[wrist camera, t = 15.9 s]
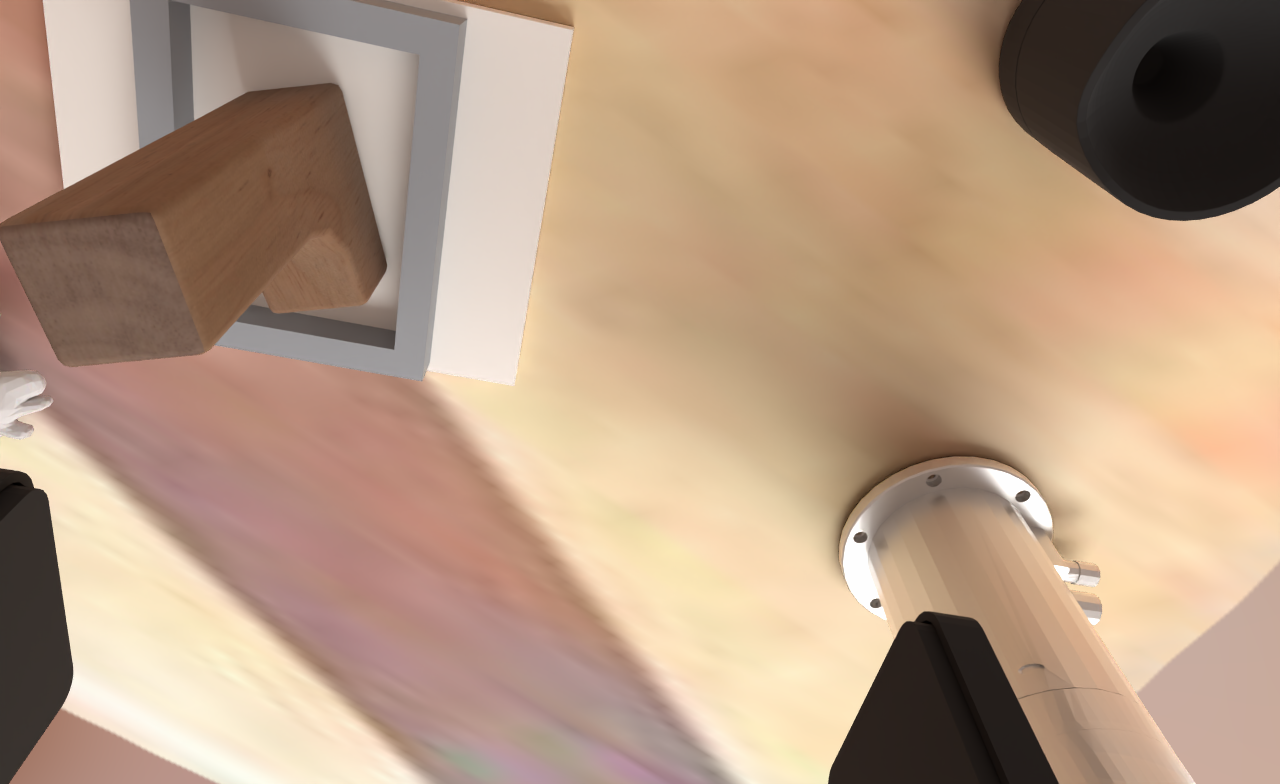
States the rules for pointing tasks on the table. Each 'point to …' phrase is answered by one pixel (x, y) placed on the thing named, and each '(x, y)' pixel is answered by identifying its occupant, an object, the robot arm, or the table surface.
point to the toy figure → (20, 401)
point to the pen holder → (1153, 97)
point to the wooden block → (203, 232)
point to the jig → (386, 142)
